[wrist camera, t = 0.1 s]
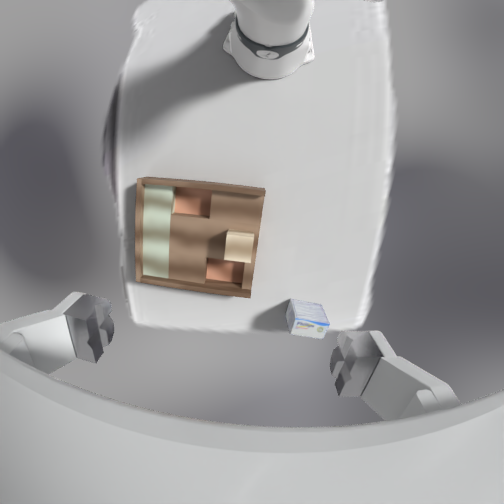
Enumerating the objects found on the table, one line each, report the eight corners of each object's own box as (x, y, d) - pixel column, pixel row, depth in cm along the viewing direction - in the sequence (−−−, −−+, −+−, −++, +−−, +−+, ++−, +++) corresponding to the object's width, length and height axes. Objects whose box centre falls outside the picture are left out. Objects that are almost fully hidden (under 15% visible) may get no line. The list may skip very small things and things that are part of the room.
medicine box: (284, 313, 63) (288, 335, 55) (290, 297, 62) (295, 317, 54) (315, 319, 64) (323, 340, 56) (322, 303, 62) (330, 323, 54)
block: (228, 228, 54) (226, 234, 50) (254, 232, 54) (254, 237, 50) (226, 252, 55) (224, 259, 52) (250, 255, 56) (250, 263, 52)
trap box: (146, 176, 53) (137, 178, 49) (264, 188, 54) (265, 190, 49) (144, 272, 60) (136, 281, 56) (250, 287, 61) (250, 298, 56)
